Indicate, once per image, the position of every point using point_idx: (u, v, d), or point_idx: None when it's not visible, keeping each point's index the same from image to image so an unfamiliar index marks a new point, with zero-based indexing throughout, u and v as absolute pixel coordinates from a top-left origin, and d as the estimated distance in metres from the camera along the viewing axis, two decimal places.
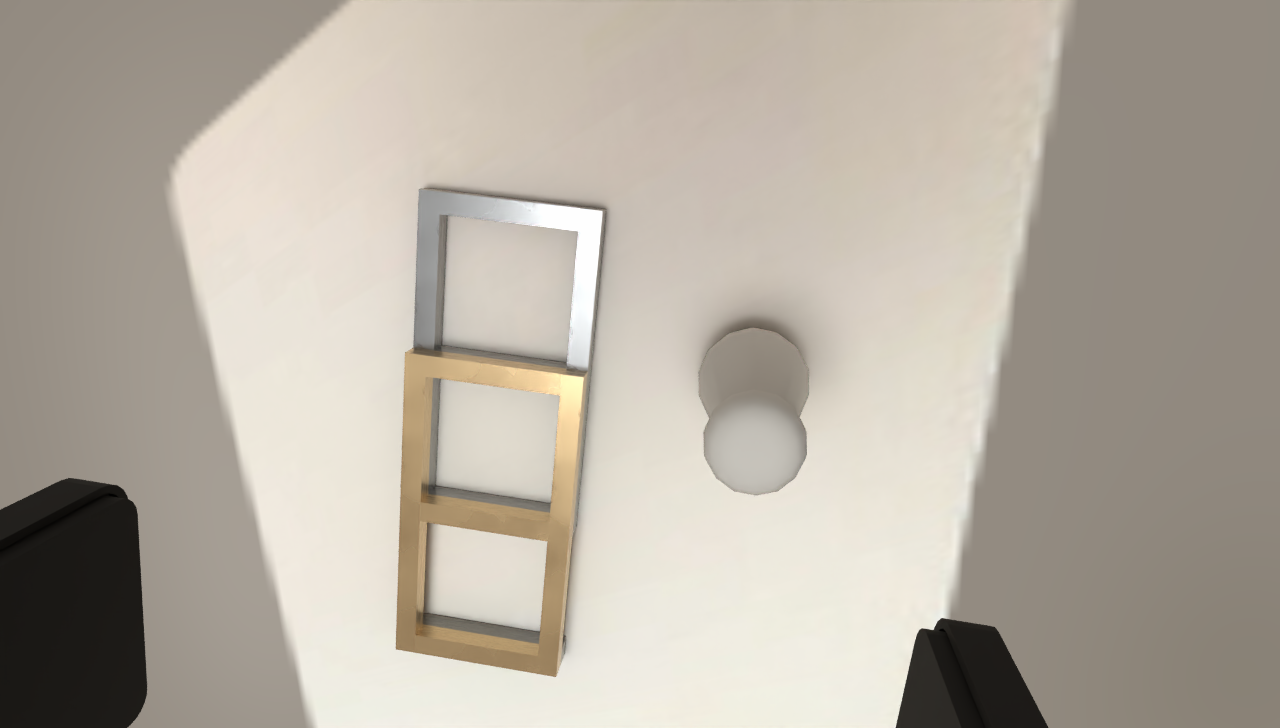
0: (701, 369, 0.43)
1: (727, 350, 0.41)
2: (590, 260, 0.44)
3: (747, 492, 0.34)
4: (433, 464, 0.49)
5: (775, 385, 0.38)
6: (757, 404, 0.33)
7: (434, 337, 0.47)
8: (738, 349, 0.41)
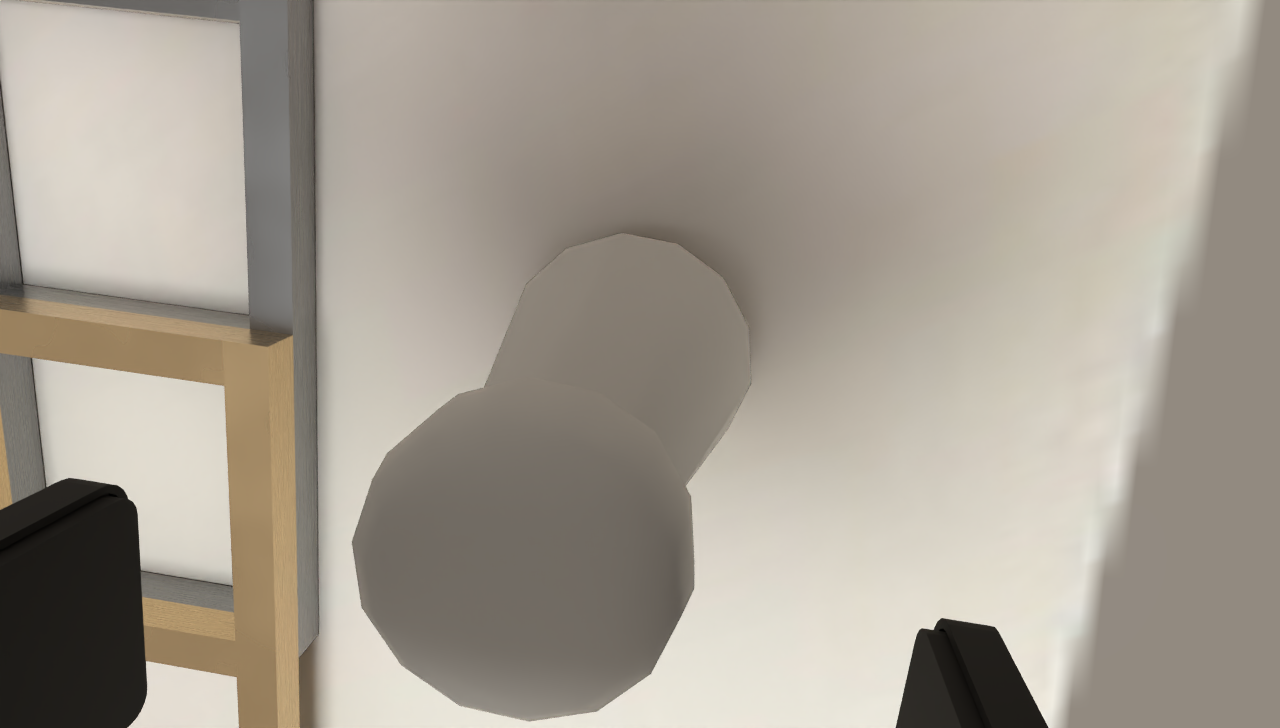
0: None
1: (549, 281, 0.17)
2: (272, 89, 0.20)
3: (500, 713, 0.11)
4: None
5: (631, 364, 0.13)
6: (508, 430, 0.09)
7: None
8: (571, 277, 0.17)
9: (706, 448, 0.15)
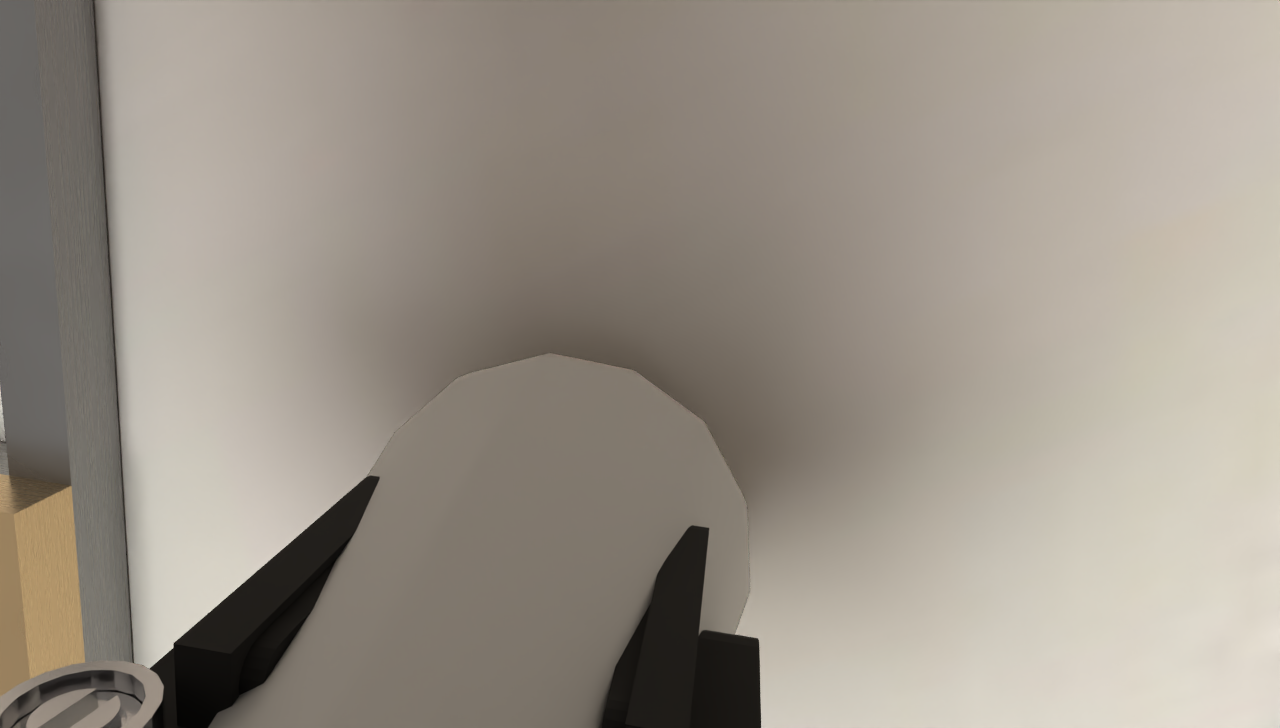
0: None
1: (409, 451, 0.10)
2: (19, 124, 0.13)
3: None
4: None
5: (493, 720, 0.06)
6: None
7: None
8: (440, 452, 0.10)
9: None
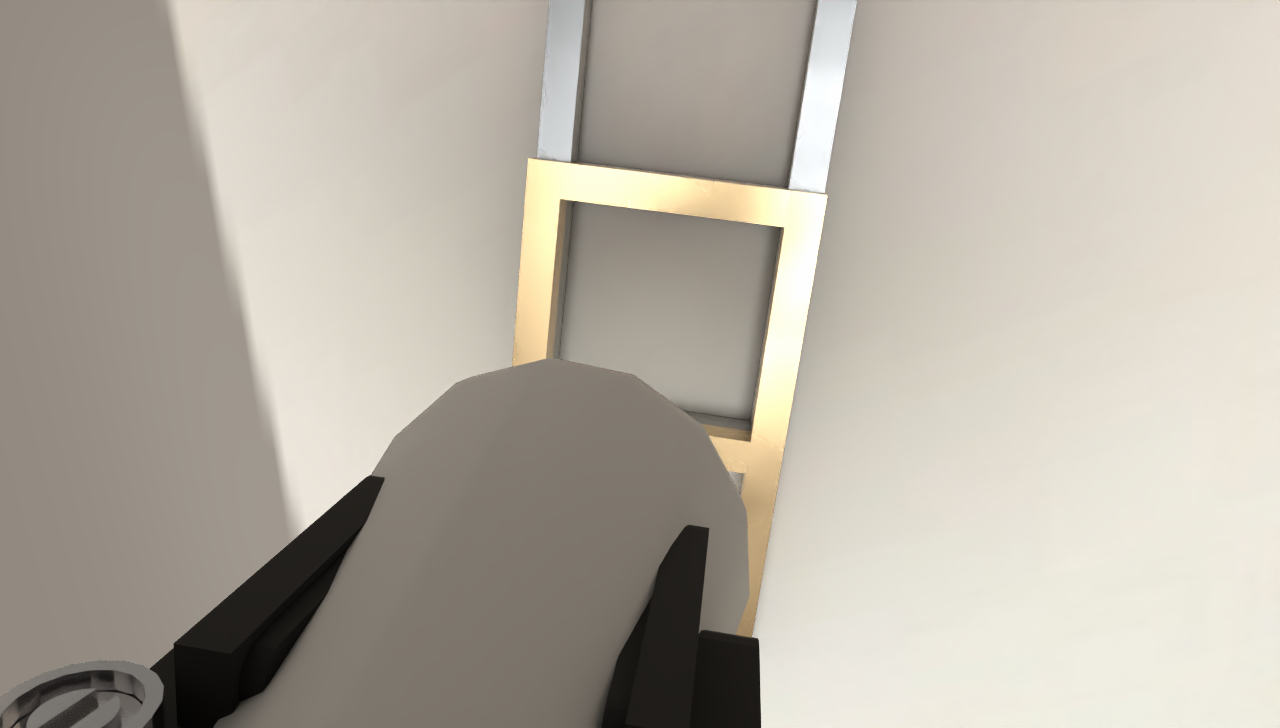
0: None
1: (408, 457, 0.10)
2: None
3: None
4: (556, 355, 0.32)
5: None
6: None
7: (572, 140, 0.29)
8: (440, 458, 0.10)
9: None
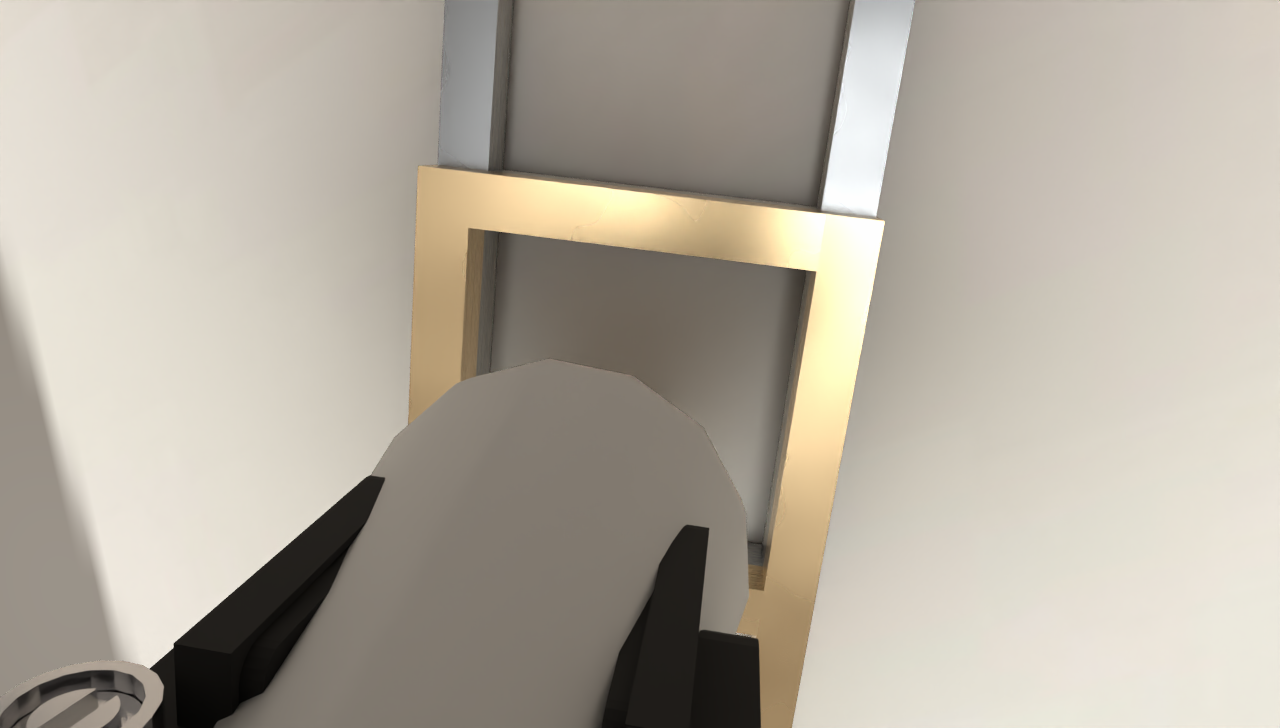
0: None
1: (408, 457, 0.10)
2: None
3: None
4: None
5: None
6: None
7: (489, 137, 0.19)
8: (440, 459, 0.10)
9: None
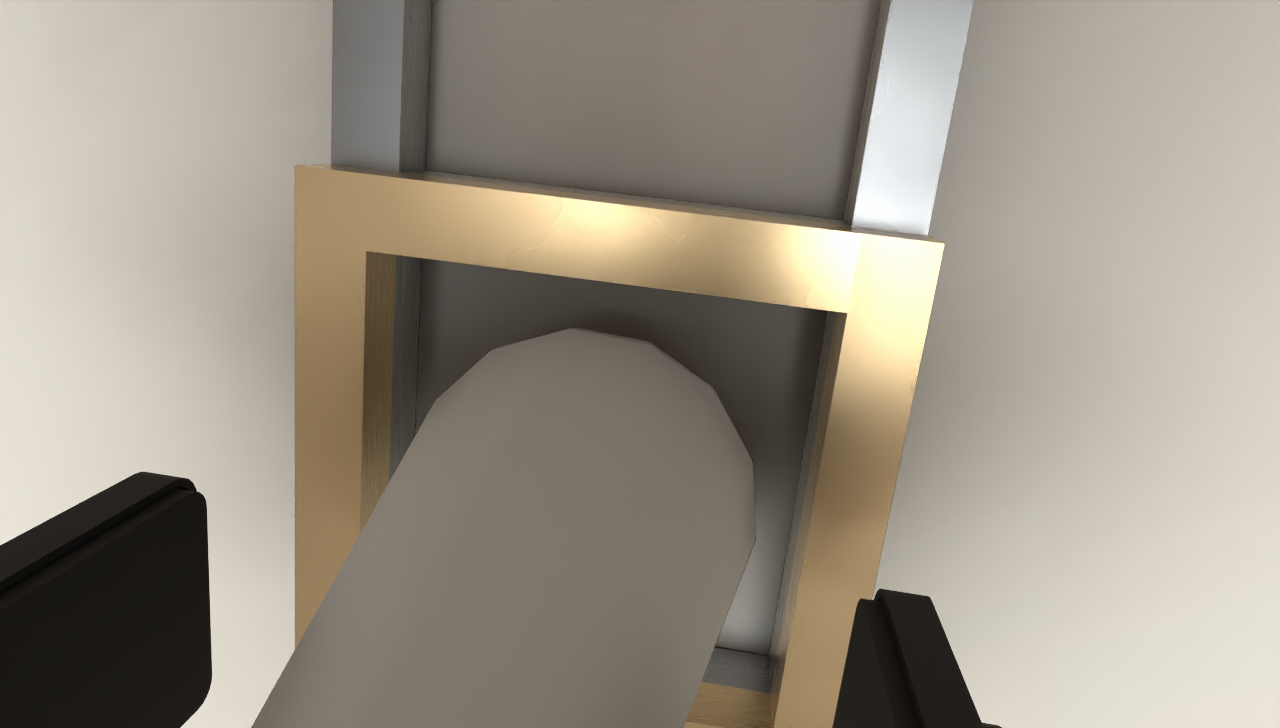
0: None
1: (455, 409, 0.12)
2: None
3: None
4: None
5: (552, 605, 0.08)
6: None
7: (399, 127, 0.14)
8: (484, 408, 0.11)
9: (688, 708, 0.09)
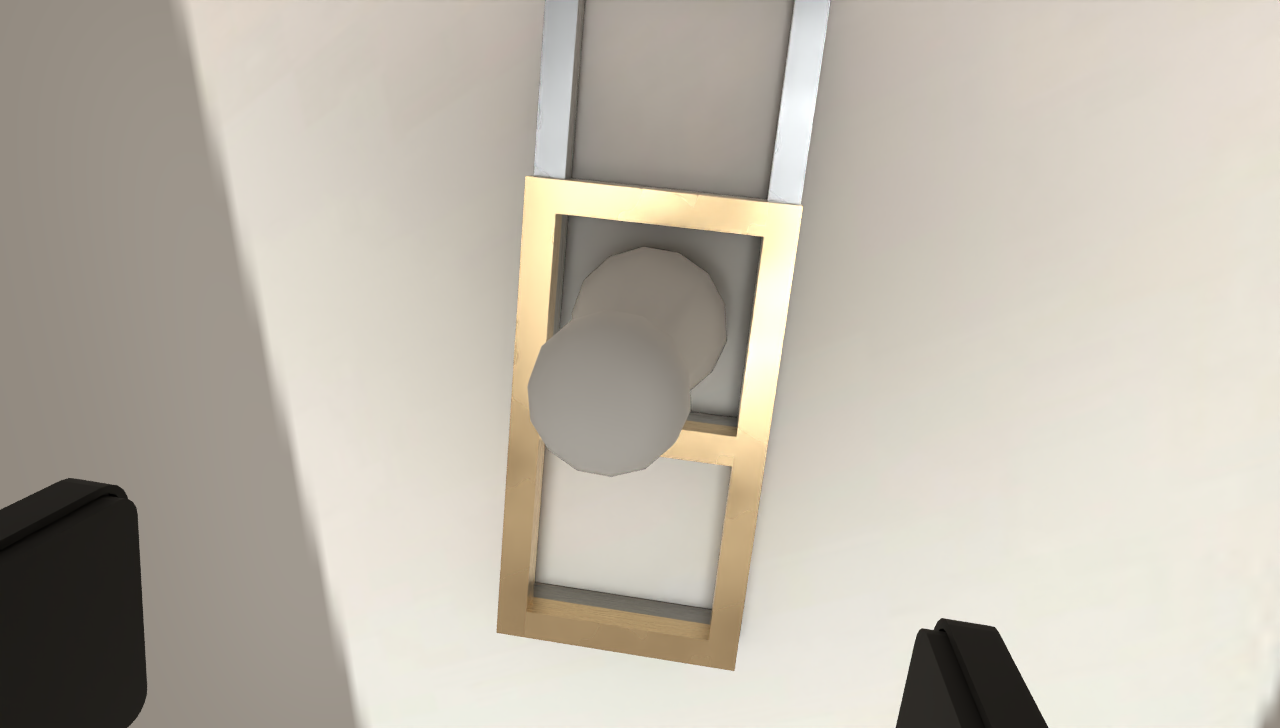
0: (574, 307, 0.31)
1: (602, 275, 0.29)
2: (814, 24, 0.29)
3: (597, 471, 0.22)
4: None
5: (655, 312, 0.25)
6: (604, 327, 0.21)
7: (566, 158, 0.31)
8: (616, 272, 0.28)
9: (697, 365, 0.26)
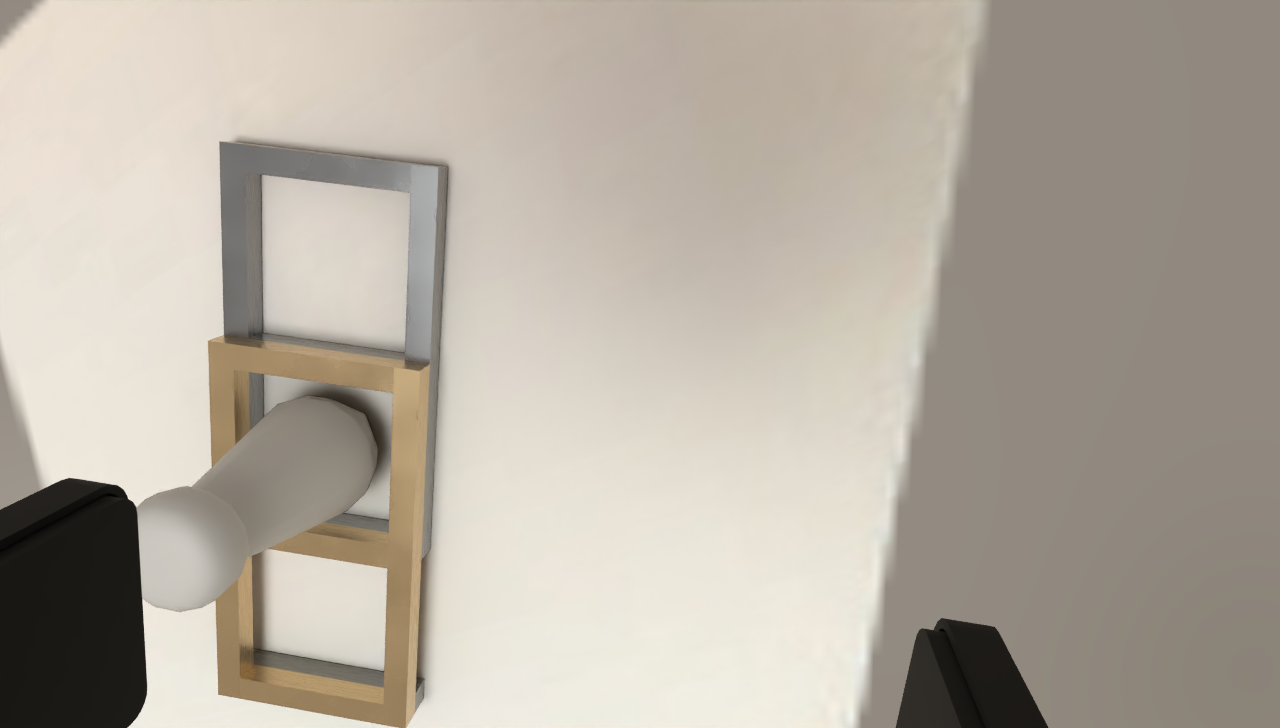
0: None
1: (256, 426, 0.36)
2: (426, 228, 0.36)
3: (168, 608, 0.29)
4: None
5: (253, 474, 0.32)
6: (159, 508, 0.28)
7: (247, 323, 0.39)
8: (262, 425, 0.36)
9: (303, 508, 0.34)
